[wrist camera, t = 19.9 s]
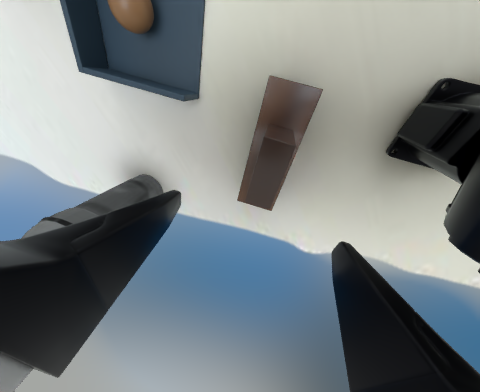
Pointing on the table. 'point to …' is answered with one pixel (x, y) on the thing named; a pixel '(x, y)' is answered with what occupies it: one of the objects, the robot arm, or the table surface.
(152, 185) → the beverage cup
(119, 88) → the table surface
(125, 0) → the brown rounded piece
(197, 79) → the dustpan
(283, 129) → the brush
